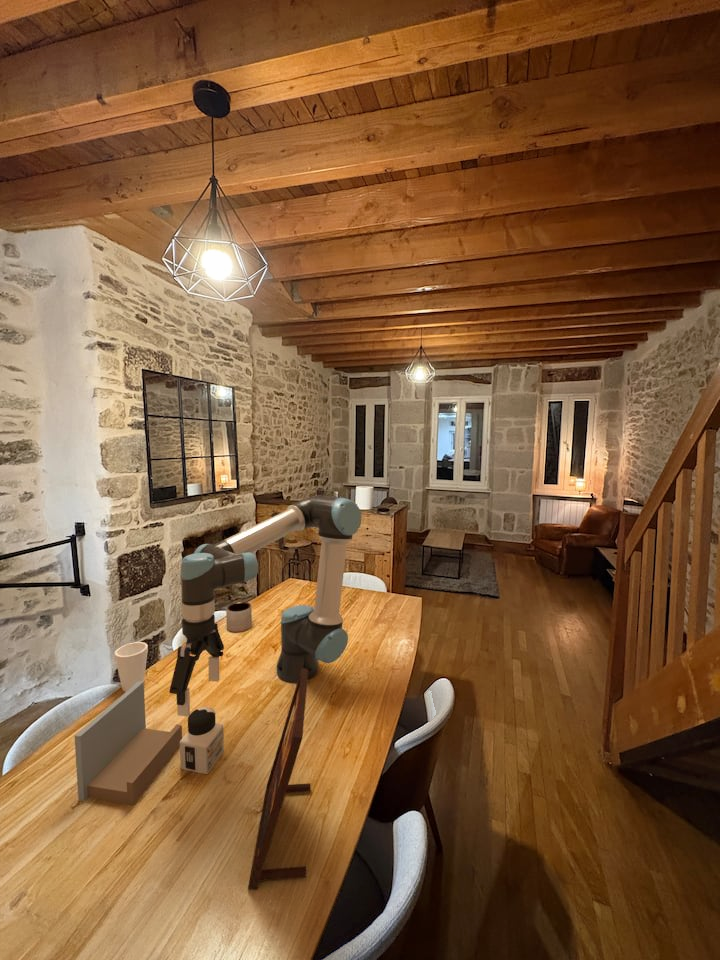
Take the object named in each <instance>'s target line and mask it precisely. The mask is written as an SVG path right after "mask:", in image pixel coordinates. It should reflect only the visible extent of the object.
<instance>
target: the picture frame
mask: <svg viewBox="0 0 720 960" xmlns="http://www.w3.org/2000/svg"><path fill="white" fill-rule="evenodd" d="M307 679H308V669H304V668H302V669H301V672H300V675H299V679H298V682H296V686H295V688H294V693H293V695H292V699H291V703H290V705H289V710H288V712H287V715H286V719H285V723H284V726H283V730H282V732H281V736H280V739H279V742H278V746H277V750H276V753H275V756H274V760H273V763H272V766H271V770H270V772H269V776H268V780H267V783H266V786H265V790H264V791H265V792H264V798H263V804H262V808H261V814H260V820H259V825H258V831H257V837H256V842H255V847H254V853H253V857H252V864H251V870H250V874H249V879H248V886H247V890H253V891H257V889H258V886H259V883H260V881H271V880H272V881H273V880H284V879H285V880H286V879H298V878H306V877H307V866H303V865H302V866H292V867H278V868H267V869H266V868H265V869H264V866H265V863H266V859H267V856H268V855H269V854H268V853H269V850H270V846H271V843H272V840H273V836H274V834H275V830H276V826H277V823H278V820H279V817H280V813H281V810H282V807H283V803H284V800H285V798H286V794H287V793H298V792H299V793H300V792H311V785H312V784H311V783H295V784H292V783H291V784H290V780H291V777H292V774H293V771H294V767H295V765H296V760H297V758H298V755H299V754H298V753H299V751H300V748H301V745H302V741H303V733H304V725H305V712H306V711H305V710H306V699H307V689H308V688H307V687H308V680H307Z"/></svg>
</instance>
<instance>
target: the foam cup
mask: <svg viewBox="0 0 720 960" xmlns="http://www.w3.org/2000/svg"><path fill="white" fill-rule="evenodd" d="M148 653H149V645H148V644H147V643H146V642H144V641H143V642H142V641H136V642H130V643H126V644H124V645H122V646H120V647H119V648H117V649H116V650H115V652H114V661H115V662H116V669H117V672H118V678H119V681H120V682H119V683H120V686H121V690H122V691H123V692H124V693H126V692H127V691H128V690H129V689H130V688H131V687H133V686H134V685H135V684H136V683H137V682H139V681H142V682H144V683H145V678H146V677H145V676H146V668H147V667H146V666H147V658H148ZM134 679H135V680H134Z"/></svg>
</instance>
